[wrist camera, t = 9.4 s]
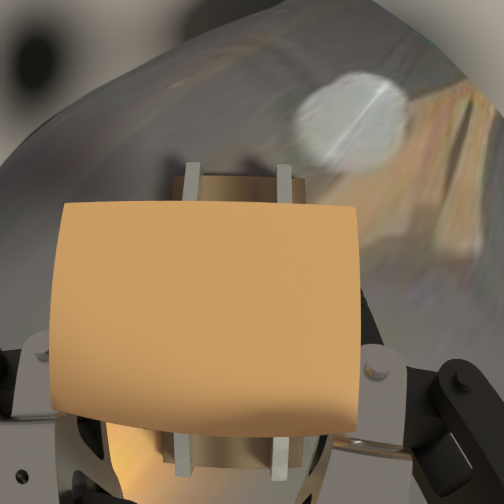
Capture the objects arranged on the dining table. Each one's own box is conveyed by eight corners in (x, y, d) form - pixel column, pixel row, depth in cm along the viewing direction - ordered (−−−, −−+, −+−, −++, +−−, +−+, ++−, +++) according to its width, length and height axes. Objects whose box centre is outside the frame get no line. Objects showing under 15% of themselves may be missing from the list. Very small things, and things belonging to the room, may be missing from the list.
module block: (168, 361, 13) (50, 408, 4) (171, 279, 14) (64, 203, 5) (284, 365, 13) (356, 431, 4) (285, 282, 14) (355, 207, 5)
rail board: (165, 458, 23) (156, 473, 20) (175, 180, 29) (168, 162, 26) (299, 462, 24) (306, 478, 20) (302, 183, 29) (309, 165, 26)
